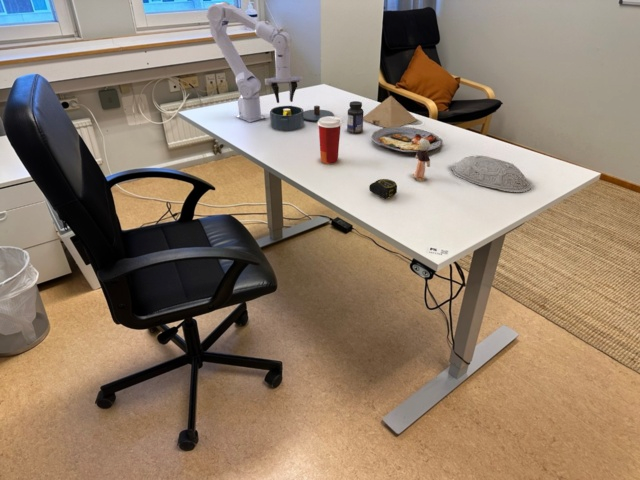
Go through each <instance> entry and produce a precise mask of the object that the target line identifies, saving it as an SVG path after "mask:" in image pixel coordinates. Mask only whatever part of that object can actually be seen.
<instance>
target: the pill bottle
mask: <svg viewBox="0 0 640 480" xmlns="http://www.w3.org/2000/svg"><path fill="white" fill-rule="evenodd" d="M362 107H363V102H362V101H357V100H355V101H354V100H353V101H350V102H349V108H348V109H347V112H346V113H347V119H346V131H347V133H348V134H354V135H355V134H357V135H358V134H362V133H363V130H364V120H363V117H364V109H363V108H362Z"/></svg>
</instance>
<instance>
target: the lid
mask: <svg viewBox="0 0 640 480" xmlns="http://www.w3.org/2000/svg"><path fill="white" fill-rule="evenodd" d="M303 112H304V121H305V120H306V121H311V122H318V120H319V119H320V118H322V117H327V116H332V117H335V115H334V113H333V112H332V111H330V110H327V109H321V106H320V105H314V106H313V109H309V110H303Z"/></svg>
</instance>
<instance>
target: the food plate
mask: <svg viewBox="0 0 640 480" xmlns="http://www.w3.org/2000/svg"><path fill="white" fill-rule="evenodd" d="M370 138H371V140H372V141H373V143H375V144H377V145H379V146H383V147H385V148H387V149H391V150H393V151H394V150H395V151H396V152H402V153H409V154H410V153H411V154H412V153H417V152H418V150H420V149H419V145H420V140H421V139H426V140H428V141H429V143H430V145H431V146H430V147H429V148H427V150H426V151H427V153H428V152H431V151H433V150H434V151H435V150H437V149H439V148H441V147H442V146H443V139H442V138H441V137H440V136H438V135H436V134H435V133H433V132H430V131H426V130H424V129H419V128H416V127H409V126H400V127H389V128H385V127H382V128H380V129H377V130H375V131H373V132H372V134H371V136H370Z"/></svg>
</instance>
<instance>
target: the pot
mask: <svg viewBox="0 0 640 480" xmlns="http://www.w3.org/2000/svg"><path fill="white" fill-rule="evenodd" d="M283 109H290V111H291V115H288V112H287V115H283V113H284V111H283ZM269 117H270V120H269V121H270V128H272V129H274V130H276V131H280V132H292V131H293V132H294V131H298V130H300V129H302V128H304V125H305V119H304V109H303V108H302V107H299V106H295V105H281V106H276V107H273V108H271V109H270V110H269Z"/></svg>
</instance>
